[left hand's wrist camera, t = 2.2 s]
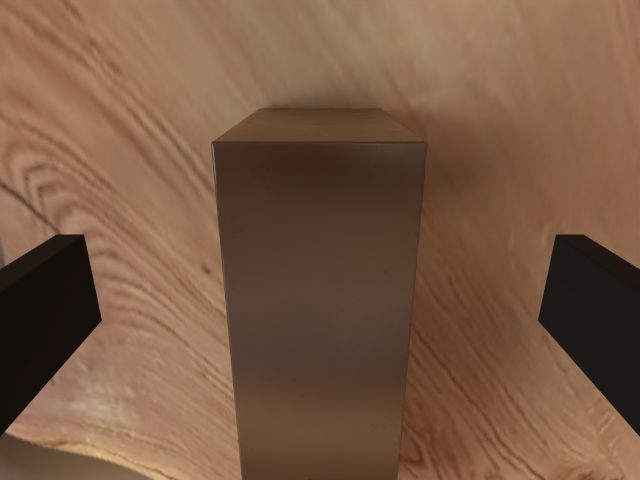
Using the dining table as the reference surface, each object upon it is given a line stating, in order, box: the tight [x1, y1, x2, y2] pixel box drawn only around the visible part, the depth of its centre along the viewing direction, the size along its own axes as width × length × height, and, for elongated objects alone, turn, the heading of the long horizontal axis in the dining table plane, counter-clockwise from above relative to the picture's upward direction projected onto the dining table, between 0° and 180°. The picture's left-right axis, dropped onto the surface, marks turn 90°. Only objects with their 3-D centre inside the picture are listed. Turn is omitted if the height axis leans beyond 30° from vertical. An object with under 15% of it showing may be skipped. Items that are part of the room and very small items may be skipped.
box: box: [211, 109, 427, 480], centre depth 22 cm, size 26×6×10 cm, turn 0°
